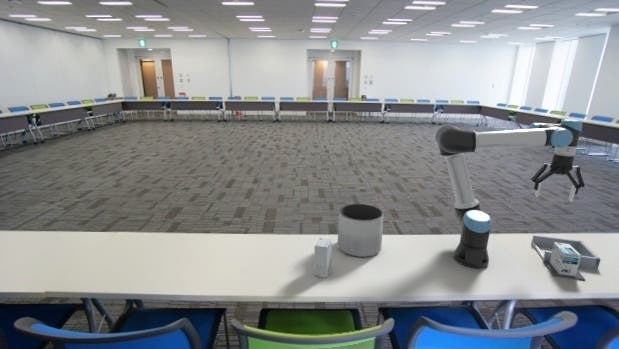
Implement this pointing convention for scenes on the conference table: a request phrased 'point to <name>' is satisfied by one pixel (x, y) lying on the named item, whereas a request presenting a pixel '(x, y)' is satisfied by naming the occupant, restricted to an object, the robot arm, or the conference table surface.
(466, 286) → the conference table surface
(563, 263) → the light bulb box
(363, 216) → the planter
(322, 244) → the skincare box
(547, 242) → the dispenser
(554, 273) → the mat
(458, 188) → the robot arm
